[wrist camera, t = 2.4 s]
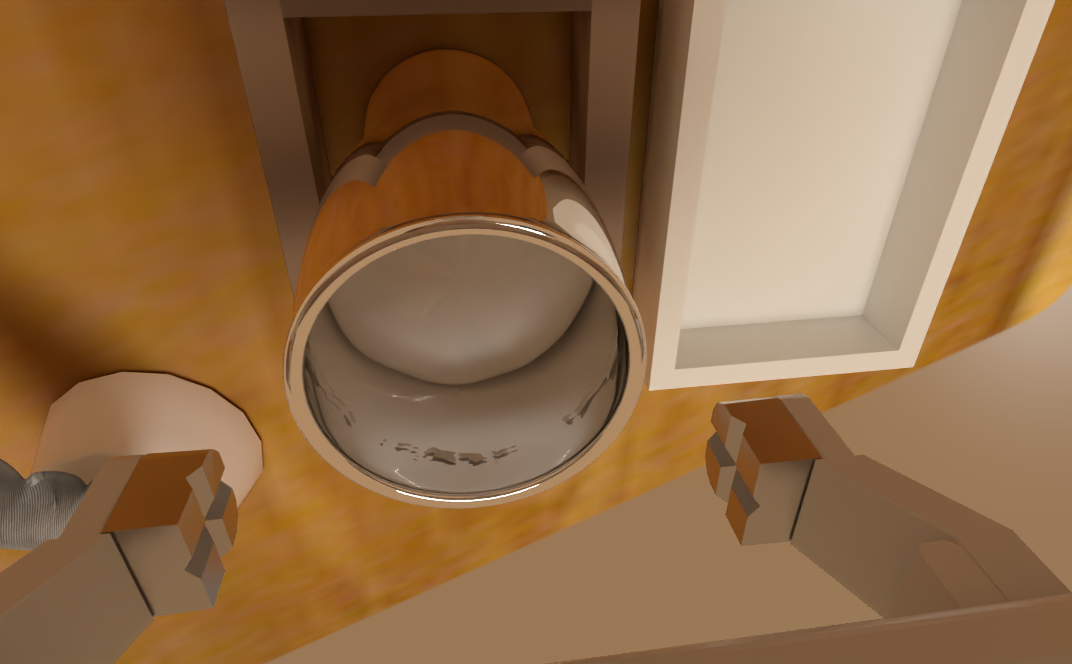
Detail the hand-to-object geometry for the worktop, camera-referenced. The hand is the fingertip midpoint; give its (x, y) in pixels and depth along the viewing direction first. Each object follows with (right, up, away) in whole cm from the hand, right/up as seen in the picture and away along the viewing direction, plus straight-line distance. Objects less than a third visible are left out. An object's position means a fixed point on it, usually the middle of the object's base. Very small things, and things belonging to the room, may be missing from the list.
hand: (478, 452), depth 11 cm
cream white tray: (+11, +9, +16) cm, 21 cm away
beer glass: (-2, +9, +14) cm, 17 cm away
